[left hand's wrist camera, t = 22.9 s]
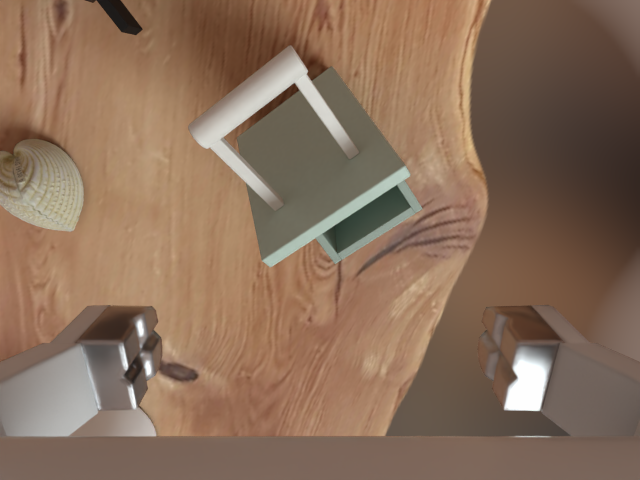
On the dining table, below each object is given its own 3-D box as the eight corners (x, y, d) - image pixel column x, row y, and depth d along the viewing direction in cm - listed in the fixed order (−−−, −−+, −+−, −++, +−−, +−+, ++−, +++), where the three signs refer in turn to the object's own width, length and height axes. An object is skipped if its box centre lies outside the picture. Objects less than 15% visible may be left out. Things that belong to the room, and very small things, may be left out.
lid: (411, 176, 21) (337, 49, 16) (270, 268, 23) (163, 181, 18) (337, 74, 31) (276, -24, 26) (243, 144, 33) (169, 66, 28)
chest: (403, 183, 44) (422, 208, 36) (332, 229, 46) (334, 264, 38) (331, 70, 40) (334, 69, 31) (256, 126, 42) (240, 140, 33)
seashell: (40, 116, 39) (72, 186, 38) (80, 158, 47) (107, 216, 46) (-51, 150, 37) (-22, 225, 36) (6, 187, 45) (32, 249, 44)
